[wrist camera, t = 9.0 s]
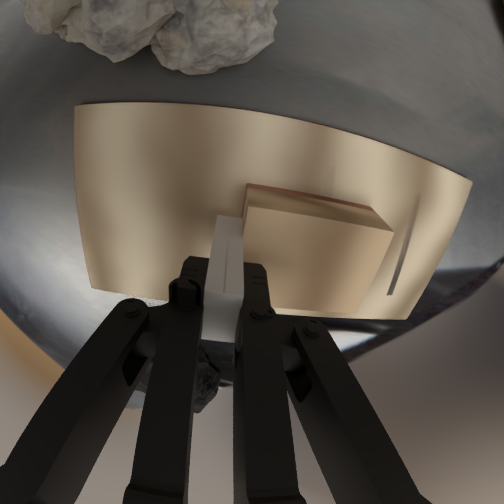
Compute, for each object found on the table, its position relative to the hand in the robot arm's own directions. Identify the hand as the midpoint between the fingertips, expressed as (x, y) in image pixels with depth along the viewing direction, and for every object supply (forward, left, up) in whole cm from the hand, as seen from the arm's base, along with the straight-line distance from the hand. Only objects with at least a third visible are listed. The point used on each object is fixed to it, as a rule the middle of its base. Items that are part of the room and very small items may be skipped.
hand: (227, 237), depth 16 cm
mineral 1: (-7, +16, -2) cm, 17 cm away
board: (+3, 0, -2) cm, 4 cm away
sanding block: (+5, 0, -1) cm, 5 cm away
